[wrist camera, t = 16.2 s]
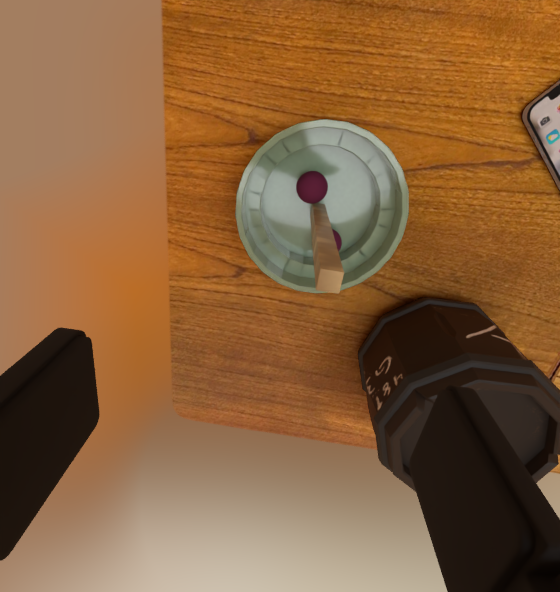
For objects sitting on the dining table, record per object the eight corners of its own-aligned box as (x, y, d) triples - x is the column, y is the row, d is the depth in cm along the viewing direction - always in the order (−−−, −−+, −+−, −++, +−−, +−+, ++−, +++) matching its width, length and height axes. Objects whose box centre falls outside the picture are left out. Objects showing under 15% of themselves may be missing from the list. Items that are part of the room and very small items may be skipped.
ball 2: (314, 230, 40) (302, 251, 39) (327, 217, 38) (315, 239, 36) (336, 246, 41) (326, 267, 40) (351, 234, 38) (340, 256, 37)
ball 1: (284, 188, 37) (301, 205, 35) (302, 160, 35) (320, 176, 33) (304, 196, 39) (320, 213, 37) (322, 171, 38) (339, 186, 36)
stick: (309, 215, 39) (315, 290, 21) (312, 202, 38) (320, 268, 20) (322, 216, 39) (339, 294, 21) (325, 204, 38) (344, 272, 20)
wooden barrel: (497, 396, 49) (577, 506, 35) (364, 411, 51) (388, 520, 37) (504, 276, 42) (609, 354, 27) (349, 300, 44) (371, 383, 30)
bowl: (214, 190, 39) (200, 200, 34) (337, 82, 34) (343, 74, 29) (303, 296, 44) (303, 320, 39) (421, 216, 39) (441, 230, 34)
